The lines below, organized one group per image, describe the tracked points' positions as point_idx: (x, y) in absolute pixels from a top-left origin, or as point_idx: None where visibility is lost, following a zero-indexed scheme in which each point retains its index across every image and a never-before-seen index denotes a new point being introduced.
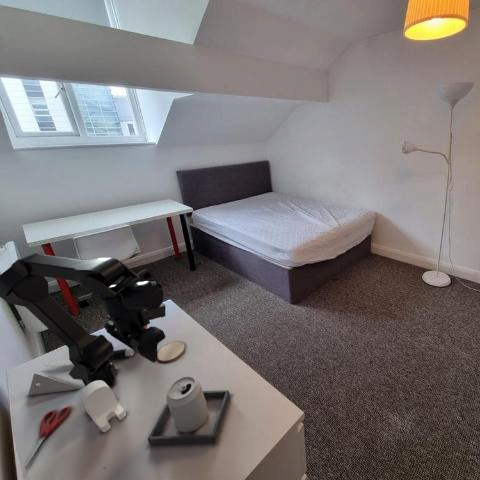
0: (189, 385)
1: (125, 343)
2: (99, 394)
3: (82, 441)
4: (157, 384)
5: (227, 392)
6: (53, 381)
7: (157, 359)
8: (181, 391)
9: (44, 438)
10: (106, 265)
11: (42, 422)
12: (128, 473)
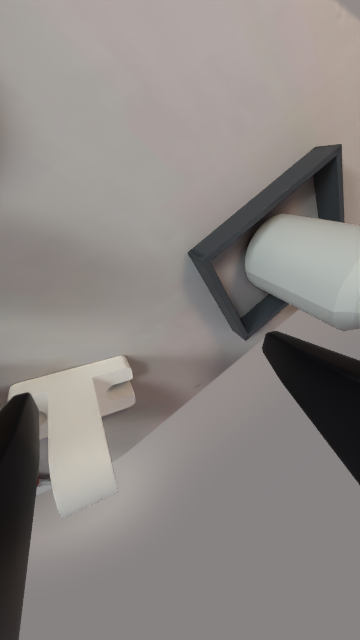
0: (324, 243)
1: (22, 585)
2: (110, 458)
3: (113, 419)
4: (85, 266)
5: (341, 153)
6: None
7: (279, 332)
8: (298, 267)
9: (41, 479)
10: None
11: None
12: (235, 360)
